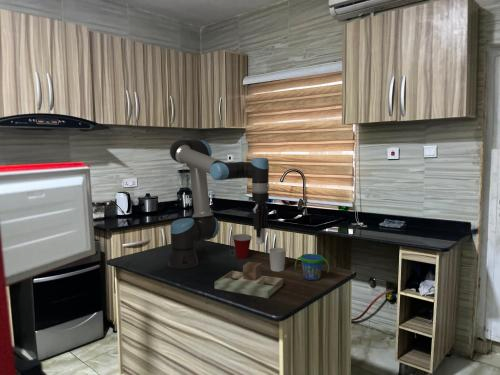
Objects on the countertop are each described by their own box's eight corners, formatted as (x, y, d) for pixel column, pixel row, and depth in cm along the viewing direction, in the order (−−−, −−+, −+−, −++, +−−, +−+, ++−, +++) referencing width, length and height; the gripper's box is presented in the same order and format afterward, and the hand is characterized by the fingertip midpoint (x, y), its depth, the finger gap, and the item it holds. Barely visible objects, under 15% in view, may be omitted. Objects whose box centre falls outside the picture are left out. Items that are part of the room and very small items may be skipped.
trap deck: (214, 288, 163) (214, 281, 162) (232, 277, 177) (232, 270, 177) (268, 298, 152) (268, 291, 152) (282, 285, 166) (282, 278, 166)
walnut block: (243, 278, 166) (243, 265, 165) (249, 274, 171) (249, 261, 171) (255, 280, 163) (255, 267, 163) (261, 276, 169) (261, 263, 168)
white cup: (284, 272, 183) (284, 252, 182) (268, 271, 184) (268, 251, 183) (286, 267, 191) (286, 248, 190) (270, 266, 192) (270, 247, 191)
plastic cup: (237, 261, 201) (237, 239, 200) (229, 256, 211) (229, 235, 209) (255, 258, 206) (255, 237, 205) (246, 253, 216) (246, 233, 214)
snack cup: (330, 276, 177) (331, 255, 176) (326, 284, 167) (327, 261, 166) (298, 272, 183) (298, 252, 181) (292, 279, 173) (292, 258, 172)
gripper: (261, 194, 163) (261, 248, 165) (274, 190, 177) (274, 240, 179) (245, 193, 166) (245, 246, 169) (259, 190, 180) (260, 238, 182)
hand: (260, 243), depth 174 cm, fingers open, 2 cm apart
